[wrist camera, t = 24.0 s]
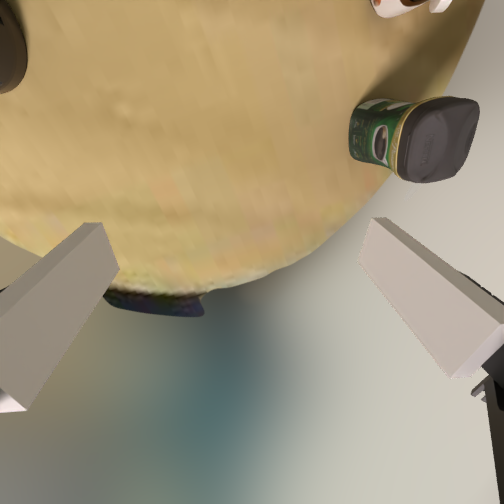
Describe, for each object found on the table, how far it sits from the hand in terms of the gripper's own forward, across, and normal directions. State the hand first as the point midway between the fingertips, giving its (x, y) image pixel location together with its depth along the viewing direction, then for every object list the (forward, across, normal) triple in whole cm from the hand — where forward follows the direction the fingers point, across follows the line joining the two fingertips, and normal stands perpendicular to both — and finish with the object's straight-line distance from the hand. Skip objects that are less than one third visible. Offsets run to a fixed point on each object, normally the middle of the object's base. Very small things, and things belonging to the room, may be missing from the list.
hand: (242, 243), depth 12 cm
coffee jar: (+35, +24, +2) cm, 43 cm away
